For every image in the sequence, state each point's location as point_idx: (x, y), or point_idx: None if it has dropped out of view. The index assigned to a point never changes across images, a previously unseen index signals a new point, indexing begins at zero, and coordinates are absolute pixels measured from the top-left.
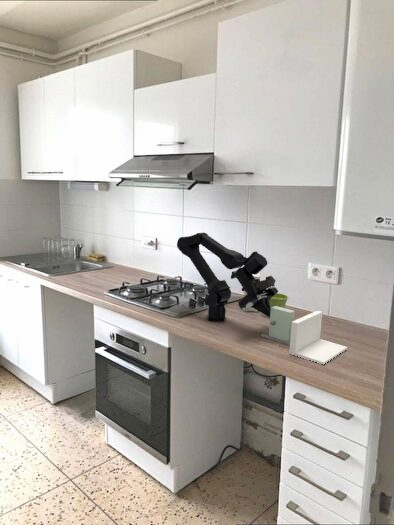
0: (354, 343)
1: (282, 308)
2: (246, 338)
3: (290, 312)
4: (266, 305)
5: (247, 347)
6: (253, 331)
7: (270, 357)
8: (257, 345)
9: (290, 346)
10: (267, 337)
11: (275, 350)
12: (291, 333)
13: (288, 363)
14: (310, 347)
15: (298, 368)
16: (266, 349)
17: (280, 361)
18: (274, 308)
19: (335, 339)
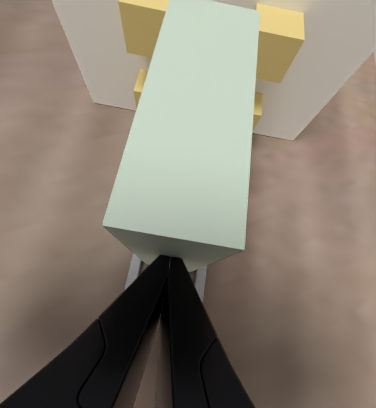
0: (50, 3)
1: (173, 103)
2: (283, 370)
3: (253, 15)
4: (184, 379)
5: (372, 301)
6: (151, 399)
7: (371, 181)
8: (317, 272)
9: (311, 117)
10: (205, 271)
11: (303, 189)
12: (357, 66)
13: (359, 122)
14: None
15: (364, 94)
16: (323, 221)
17: (368, 145)
18: (248, 186)
19: (41, 48)
